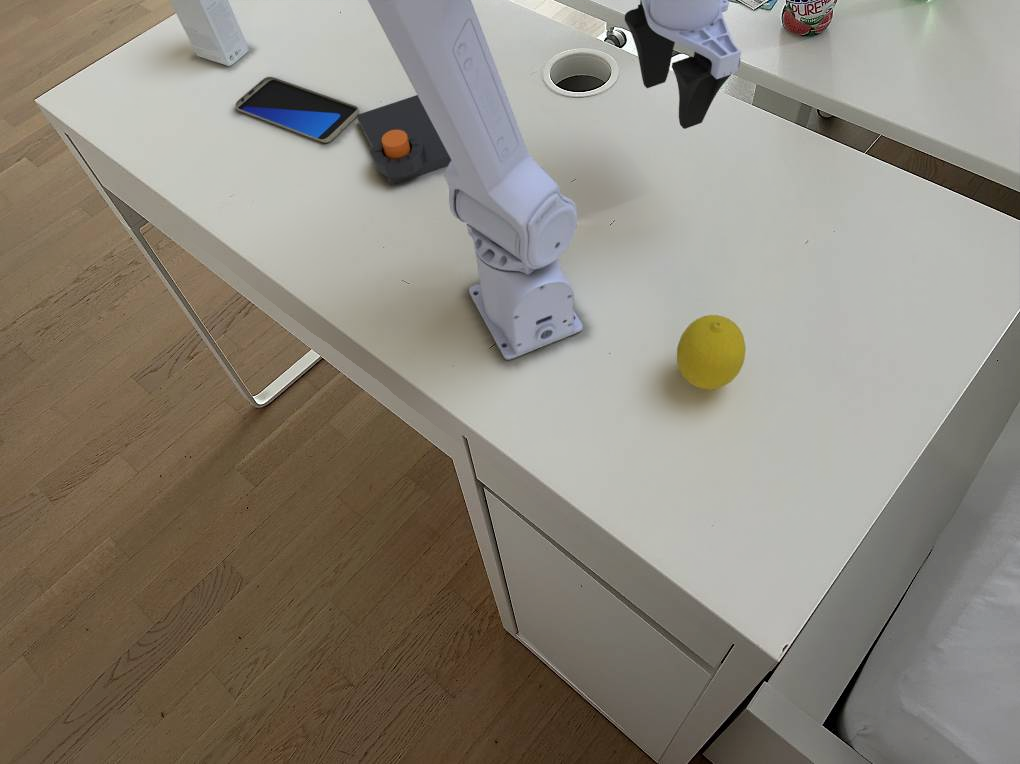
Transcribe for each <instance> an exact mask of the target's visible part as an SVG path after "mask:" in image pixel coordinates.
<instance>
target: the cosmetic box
mask: <svg viewBox="0 0 1020 764" xmlns="http://www.w3.org/2000/svg"><path fill="white" fill-rule="evenodd" d="M169 2H170V4H171V6H172V8H173V11H174V12H175V15H176V17H177V18H178V20H179V22H180V24H181V26H182V29H183V31H184V32H185V34H186V36H187V38H188V40H189V42H190V44H191V46H192V49H193V50H194V52H195V54H196V56H197V57H198V58H203V59H205V60H209V61H212V62H215V63H218V64H221V65H224V66H227V67H231V66H233V65H234V64H235V63H237V62H238V61H239V60H240V59H241V58H242V57H244V56H245V55H246V54H247V53H248V52H249V51H250V50H249V46H248V44H247V42H246V39H245V36H244V35H243V32H242V30H241V27H240V25H239V23H238V20H237V17H236V16H235V13H234V11H233V8H232V6H231V4H230V2H229V0H169Z"/></svg>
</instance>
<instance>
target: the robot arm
mask: <svg viewBox="0 0 1020 764" xmlns="http://www.w3.org/2000/svg"><path fill="white" fill-rule="evenodd" d="M367 2H368V4H369V6H370V8H371V10H372V12H373V14H374V15H375V18H376V19H377V21H378V23H379V24H380V27H381V28H382V30H383V33H384V34H385V36H386V39H387V40H388V42H389V44H390V46H391V47H392V48H391V49H393V51H394V54H395V56H396V58H397V59H398V61H399V63H400V65H401V66H402V69H403V70H404V72H405V74H406V77H407V78H408V80H409V82H410V84H411V86H412V87H413V89H414V91H415V94H416V95H418V97H419V99H420V101H421V103H422V105H423V107H424V109H425V110H426V112H427V114H428V116H429V118H430V120H431V122H432V124H433V126H434V128H435V129H436V131H437V133H438V135H439V137H440V139H441V141H442V143H443V145H444V147H445V148H446V150H447V152H448V154H449V156H450V158H451V162H450V163H449V165H448V166H446V169H445V170H444V172H443V174H442V175H443V177H444V179H445V182H446V183H447V186H448V194H449V195H448V198H449V199H448V200H449V201H448V206H449V208H450V212H451V213H452V215H453V216H454V217H455V218H456V219H457V220H459V221H460V222H462V223H466V228H467V234H468V236H470V237H471V239H472V240H473V247H474V254H475V258H476V265H477V271H478V276H479V277H478V278H479V283H477V284H475V285H472V286H470V287H469V288H468V293H469V295H470V297H471V299H472V301H473V303H474V305H475V307H476V309H477V310H478V312H479V314H480V316H481V318H482V319H483V321H484V323H485V325H486V327H487V328H488V330H489V333H490V334H491V336H492V338H493V340H494V342H495V343H496V345H497V347H498V350H499V351H500V353H501V354H502V357H503V358H504V359H505V360H508V361H509V360H513V359H515V358H517V357H520V356H523V355H525V354H527V353H531V352H532V351H535V350H538V349H540V348H542V347H545V346H548V345H550V344H553V343H555V342H558V341H561V340H562V339H565V338H567V337H568V338H569V337H570V336H572V335H575V334H577V333H580V332H582V330H583V327H584V325H583V323H582V321H581V320H580V318H579V317H578V315H577V313H576V312H575V309H574V308H575V307H574V306H575V302H574V301H575V299H574V298H575V297H574V296H575V295H574V290H573V287H572V285H571V282H570V281H569V280H568V279H567V276H566V275H565V273H564V271H563V269H562V266H561V263H560V260H559V258H560V257H561V256H562V254H563V253H564V252H565V251H566V250H567V248H568V247H569V245H570V244H571V242H572V240H573V237H574V236H575V232H576V229H577V225H578V209H577V206H576V203H575V202H574V200H572V199H571V198H569V197H567V196H565V195H563V194H562V192H561V190H560V187H559V184H558V183H557V182H556V181H555V180H554V179H553V178H552V177H551V176H550V175H549V174H548V173H547V172H546V171H545V170H544V168H542V167H541V166H540V165H539V163H538V162H537V161H536V160H535V159H533V157H532V156H531V155H530V153H529V151H528V148H527V146H526V143H525V141H524V138H523V135H522V132H521V130H520V127H519V124H518V122H517V120H516V116H515V114H514V111H513V108H512V106H511V102H510V100H509V98H508V96H507V95H508V94H507V92H506V89H505V86H504V85H503V82H502V79H501V76H500V74H499V71H498V69H497V66H496V63H495V60H494V58H493V55H492V53H491V50H490V47H489V44H488V42H487V38H486V37H485V34H484V31H483V28H482V25H481V23H480V21H479V18H478V15H477V12H476V10H475V7H474V4H473V2H472V0H367ZM729 4H730V1H729V0H639V4H638V5H637V7H636V8H633V9H631V10H628V11H626V13H625V14H624V22H625V24H626V25H627V28H628V29H629V32H630V34H631V37H632V40H633V42H634V45H635V49H636V52H637V58H638V62H639V68H640V73H641V80H642V84H643V86H644V87H645V88H646V89H650V88H652V87H656V86H659V85H662V84H664V83H666V82H667V78H668V75H669V72H670V68H671V69H672V71H673V73H674V76H675V80H676V83H677V87H678V88H677V89H678V122H679V125H680V126H681V127H682V129H684V130H686V129H689V128H692V127H694V126H697V125H699V124H703V121H704V120H705V117H706V115H707V113H708V111H709V109H710V106H711V104H712V103H713V101H714V99H715V98H716V95H717V94H718V93H719V91H720V90H721V88H722V87H723V85H724V84H725V83H726V82H727V80H728V79H729V78H730V77H731V76H732V75H733V74H735V73H738V70H739V68H740V64H741V56H742V51H741V49H739V48H738V46H737V45H736V44H735V42H734V40H733V38H732V36H731V34H730V31H729V28H728V26H727V23H726V20H725V18H724V15H723V13H725V12H727V11H728V9H729V6H730V5H729ZM675 44H678V45H680V46H681V47H684V48H686V49H688V50H690V51H692V52H693V56H691V55H690V56H688V57H686V58H683V59H678V60H677V61H674V62H672V59H673V58H672V57H673V52H674V48H675ZM671 62H672V63H671Z"/></svg>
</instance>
